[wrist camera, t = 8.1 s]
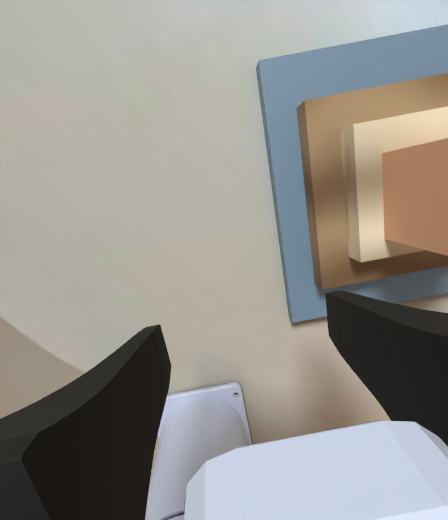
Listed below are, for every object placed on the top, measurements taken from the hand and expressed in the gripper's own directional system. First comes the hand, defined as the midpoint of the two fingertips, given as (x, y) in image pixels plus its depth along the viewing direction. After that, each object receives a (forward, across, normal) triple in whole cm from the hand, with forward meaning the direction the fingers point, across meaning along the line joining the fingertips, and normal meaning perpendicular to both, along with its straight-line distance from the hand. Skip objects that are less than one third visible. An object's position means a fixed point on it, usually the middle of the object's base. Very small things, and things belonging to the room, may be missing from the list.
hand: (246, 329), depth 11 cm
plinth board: (+9, -12, -4) cm, 16 cm away
